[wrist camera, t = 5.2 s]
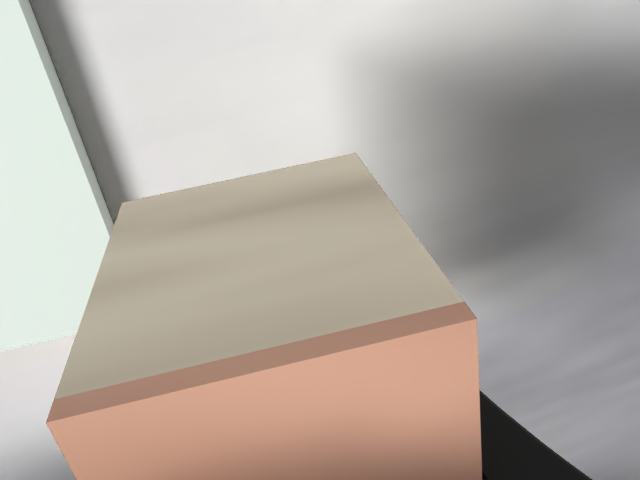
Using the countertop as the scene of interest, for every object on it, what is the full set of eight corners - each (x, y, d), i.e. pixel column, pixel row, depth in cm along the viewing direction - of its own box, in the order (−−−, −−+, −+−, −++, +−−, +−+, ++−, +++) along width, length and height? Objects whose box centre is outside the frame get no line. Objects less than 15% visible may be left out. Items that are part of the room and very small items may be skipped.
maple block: (398, 469, 13) (489, 718, 9) (232, 512, 13) (244, 793, 9) (355, 152, 10) (477, 318, 5) (121, 202, 9) (45, 422, 5)
